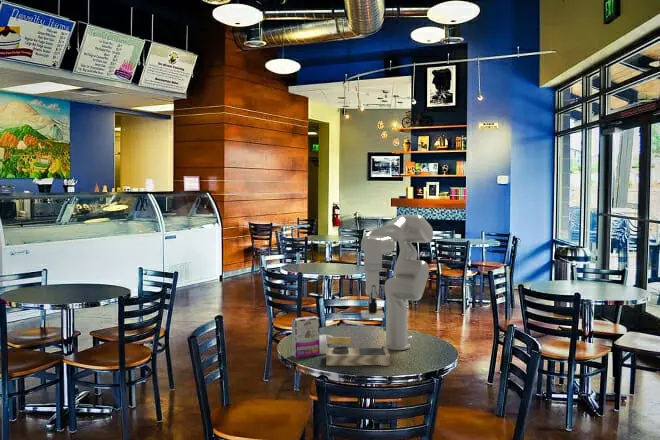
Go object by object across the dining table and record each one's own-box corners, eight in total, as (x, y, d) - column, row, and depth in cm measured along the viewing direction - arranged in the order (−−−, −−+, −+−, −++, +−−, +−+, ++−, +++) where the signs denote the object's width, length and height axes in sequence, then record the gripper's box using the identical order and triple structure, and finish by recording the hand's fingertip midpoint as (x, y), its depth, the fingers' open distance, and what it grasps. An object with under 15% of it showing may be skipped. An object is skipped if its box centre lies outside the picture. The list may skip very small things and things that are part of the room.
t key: (350, 350, 264) (350, 336, 264) (351, 352, 260) (351, 338, 260) (328, 350, 264) (328, 336, 263) (328, 352, 260) (328, 338, 259)
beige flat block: (326, 365, 240) (326, 351, 240) (326, 357, 252) (326, 344, 252) (390, 365, 241) (390, 352, 240) (387, 357, 253) (387, 344, 252)
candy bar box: (314, 352, 259) (315, 315, 259) (319, 355, 255) (320, 317, 254) (291, 355, 254) (291, 317, 254) (295, 358, 250) (295, 320, 249)
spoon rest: (306, 341, 280) (306, 326, 279) (331, 341, 281) (331, 326, 280) (310, 355, 256) (310, 338, 256) (337, 354, 257) (337, 338, 257)
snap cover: (362, 317, 241) (362, 302, 241) (360, 313, 250) (361, 298, 250) (384, 317, 241) (384, 302, 241) (382, 313, 250) (382, 298, 250)
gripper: (362, 265, 253) (362, 307, 254) (365, 270, 237) (364, 315, 237) (380, 265, 253) (379, 307, 254) (384, 270, 237) (383, 315, 238)
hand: (372, 311), depth 246 cm, fingers closed on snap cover, 3 cm apart
